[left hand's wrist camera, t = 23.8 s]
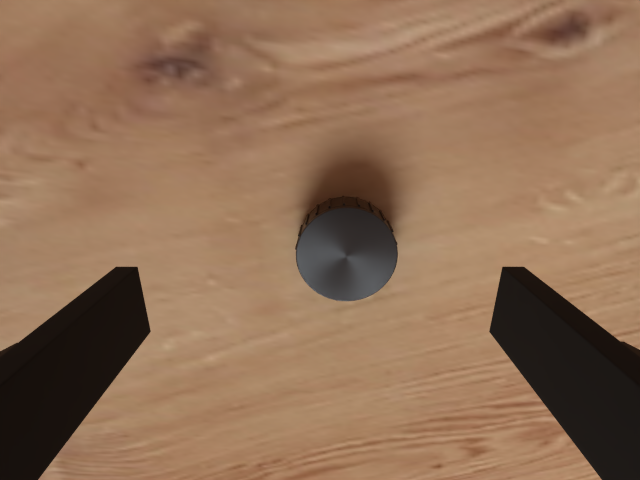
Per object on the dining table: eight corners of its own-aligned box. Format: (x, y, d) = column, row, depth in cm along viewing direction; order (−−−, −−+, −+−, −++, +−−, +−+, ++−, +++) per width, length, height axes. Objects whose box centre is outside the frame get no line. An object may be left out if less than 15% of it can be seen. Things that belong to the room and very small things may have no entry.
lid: (391, 192, 18) (399, 203, 16) (391, 281, 20) (398, 300, 18) (295, 197, 19) (289, 208, 17) (302, 284, 21) (299, 304, 18)
